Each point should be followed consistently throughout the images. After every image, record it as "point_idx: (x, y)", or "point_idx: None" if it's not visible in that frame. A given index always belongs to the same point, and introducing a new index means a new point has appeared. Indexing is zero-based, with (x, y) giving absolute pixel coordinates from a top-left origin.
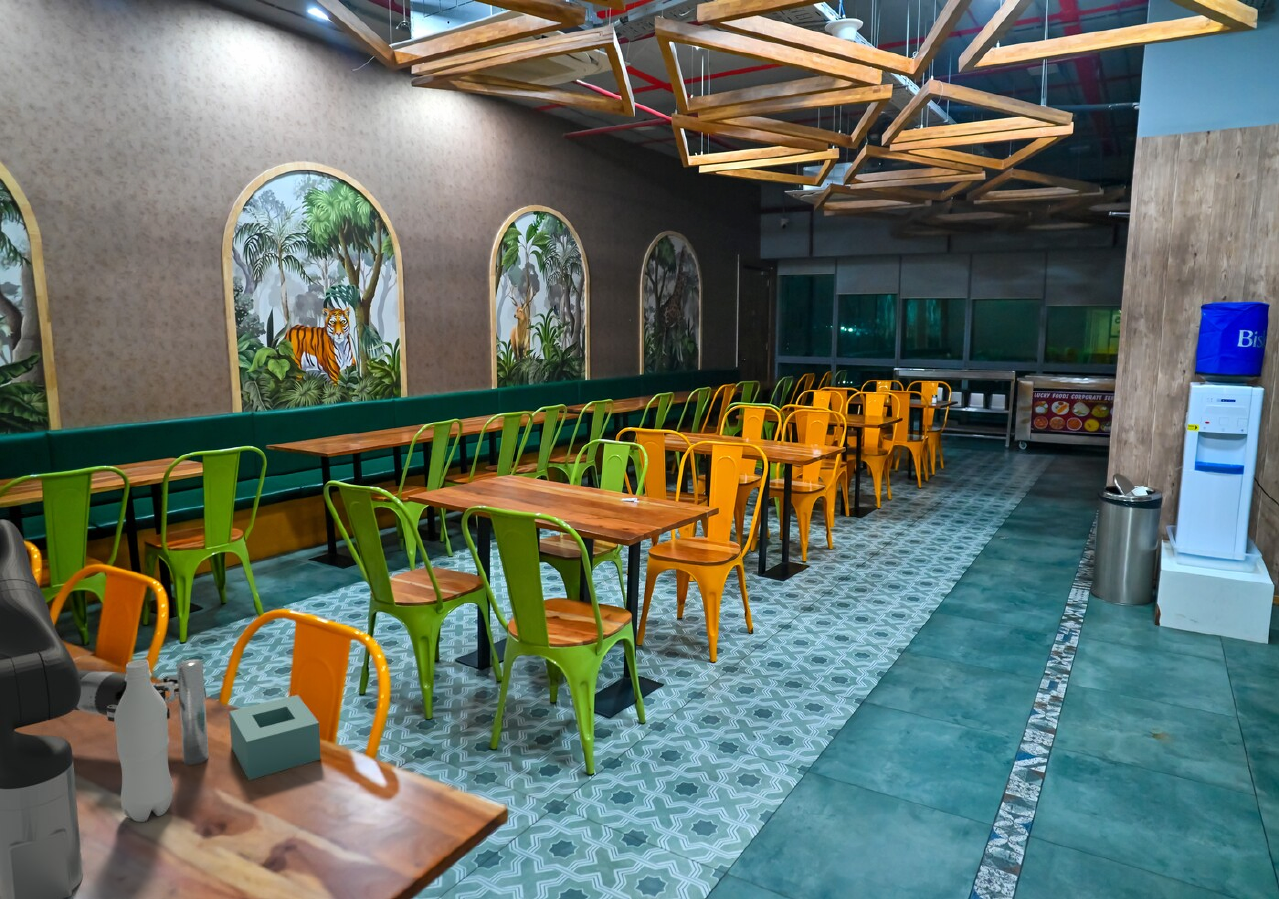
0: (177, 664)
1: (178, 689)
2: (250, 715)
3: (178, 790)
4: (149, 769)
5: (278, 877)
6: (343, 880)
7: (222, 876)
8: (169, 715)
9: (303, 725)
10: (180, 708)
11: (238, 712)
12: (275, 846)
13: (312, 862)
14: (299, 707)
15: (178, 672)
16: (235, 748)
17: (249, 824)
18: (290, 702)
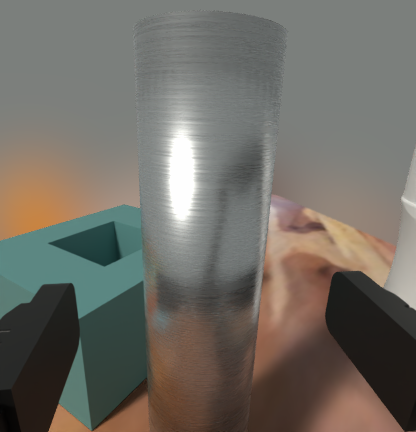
0: (259, 18)
1: (263, 206)
2: (107, 268)
3: (334, 382)
4: None
5: (323, 221)
6: (292, 205)
7: (362, 239)
8: (328, 306)
9: (138, 210)
10: (260, 298)
11: (87, 295)
12: (301, 232)
13: (293, 216)
14: (55, 230)
15: (282, 74)
16: (141, 364)
17: (298, 256)
18: (19, 246)
